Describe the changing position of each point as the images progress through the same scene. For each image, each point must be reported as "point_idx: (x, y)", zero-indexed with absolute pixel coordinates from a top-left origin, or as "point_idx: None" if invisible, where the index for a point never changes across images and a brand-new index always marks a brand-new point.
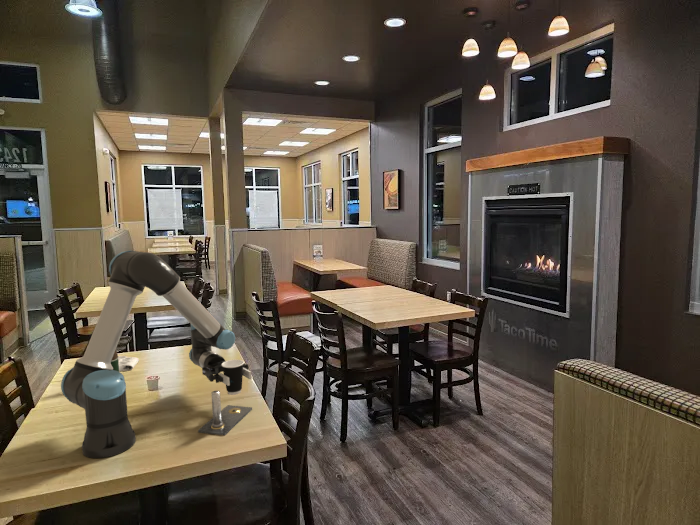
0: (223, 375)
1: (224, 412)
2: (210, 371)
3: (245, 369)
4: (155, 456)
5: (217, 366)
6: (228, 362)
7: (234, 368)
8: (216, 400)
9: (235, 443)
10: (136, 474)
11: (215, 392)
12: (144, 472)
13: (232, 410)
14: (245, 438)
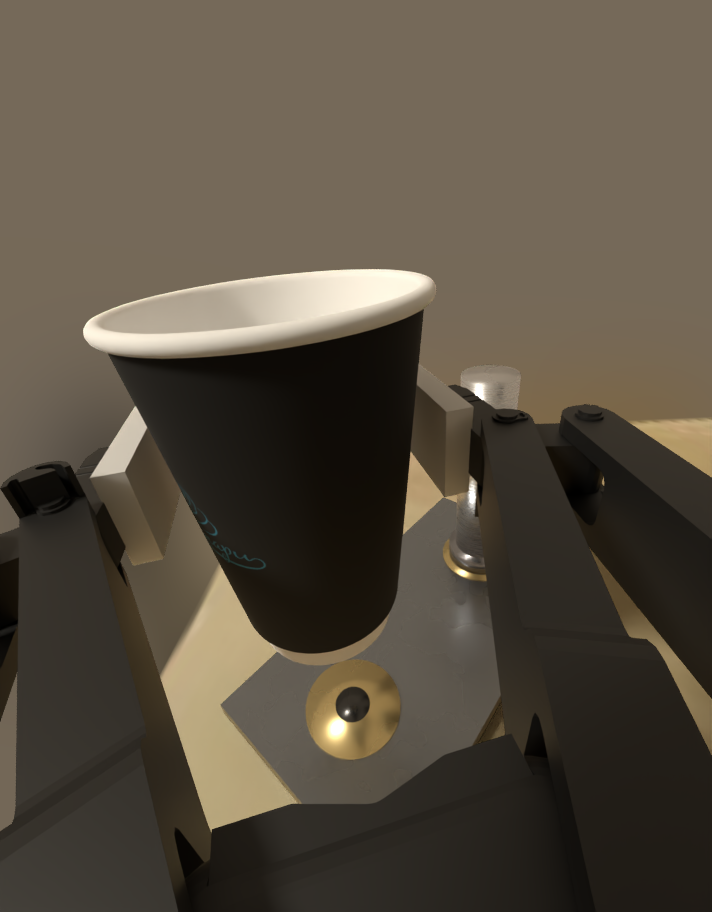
0: (422, 375)
1: (433, 712)
2: (669, 500)
3: (140, 421)
4: (703, 466)
5: (555, 640)
6: (282, 359)
7: (302, 299)
8: None
9: (410, 462)
10: (705, 419)
11: (491, 373)
12: (683, 421)
13: (368, 714)
14: None
